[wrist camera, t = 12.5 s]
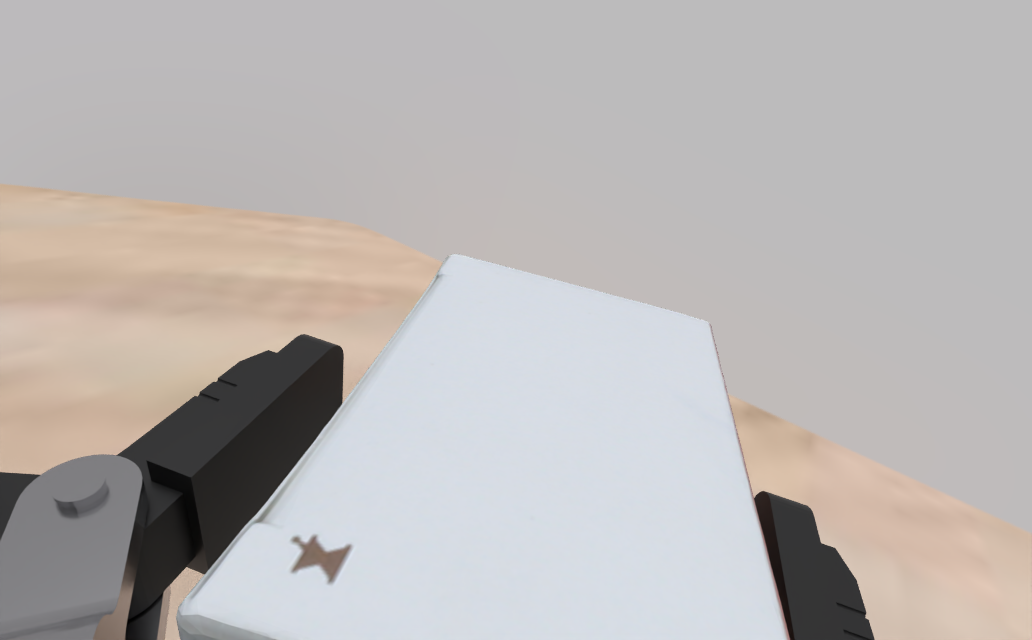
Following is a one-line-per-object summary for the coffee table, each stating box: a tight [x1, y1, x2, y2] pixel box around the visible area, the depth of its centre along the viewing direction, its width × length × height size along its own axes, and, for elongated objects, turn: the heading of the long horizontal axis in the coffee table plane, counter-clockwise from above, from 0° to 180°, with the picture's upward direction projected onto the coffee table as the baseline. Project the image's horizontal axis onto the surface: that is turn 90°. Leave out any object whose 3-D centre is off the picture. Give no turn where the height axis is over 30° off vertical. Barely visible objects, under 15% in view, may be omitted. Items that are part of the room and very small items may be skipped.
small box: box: [176, 254, 790, 640], centre depth 10 cm, size 8×6×10 cm
